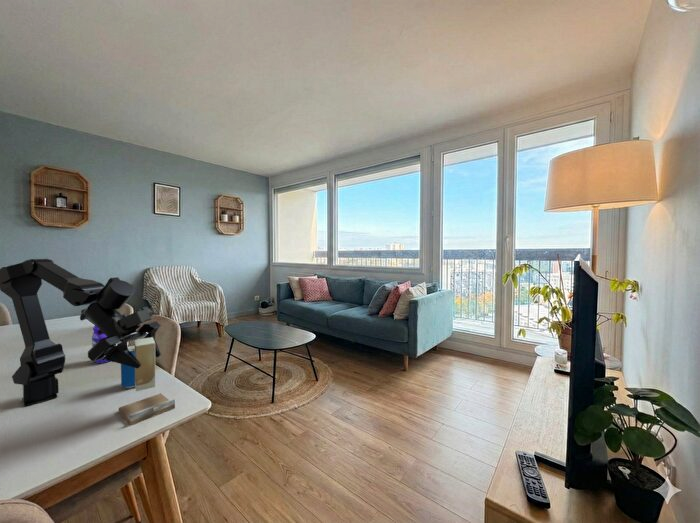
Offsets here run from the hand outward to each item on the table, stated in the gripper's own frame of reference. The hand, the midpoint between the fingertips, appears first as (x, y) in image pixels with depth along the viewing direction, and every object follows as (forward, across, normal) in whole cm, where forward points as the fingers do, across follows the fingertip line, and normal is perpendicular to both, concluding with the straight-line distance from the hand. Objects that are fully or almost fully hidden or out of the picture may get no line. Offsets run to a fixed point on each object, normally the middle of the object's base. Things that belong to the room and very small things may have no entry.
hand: (149, 361), depth 78 cm
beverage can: (-1, +14, +21) cm, 25 cm away
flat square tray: (+9, 0, +10) cm, 13 cm away
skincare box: (+4, 0, +6) cm, 7 cm away
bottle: (-20, +32, +40) cm, 55 cm away
